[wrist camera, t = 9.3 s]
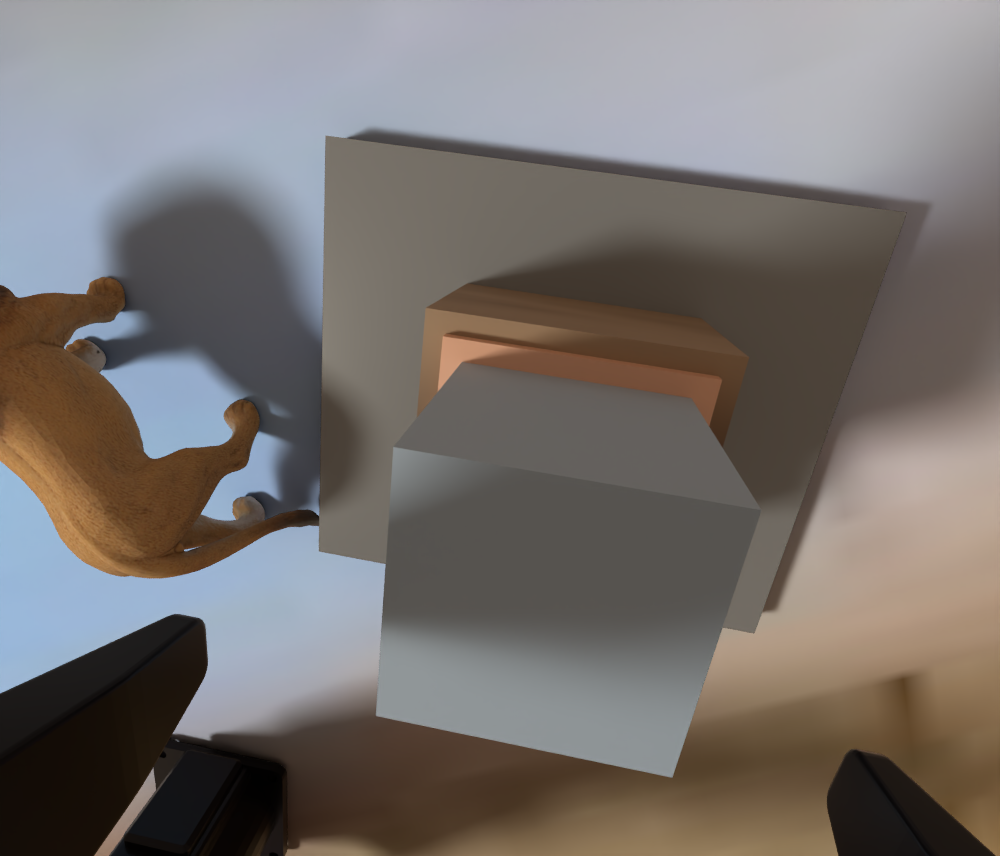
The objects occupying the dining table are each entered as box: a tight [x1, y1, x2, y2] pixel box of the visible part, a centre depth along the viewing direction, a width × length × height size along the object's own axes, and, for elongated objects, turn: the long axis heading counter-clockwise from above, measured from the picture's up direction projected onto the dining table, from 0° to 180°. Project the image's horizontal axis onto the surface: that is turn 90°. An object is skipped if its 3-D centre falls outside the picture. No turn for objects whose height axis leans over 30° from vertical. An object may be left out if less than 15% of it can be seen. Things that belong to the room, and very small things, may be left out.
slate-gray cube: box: [376, 362, 762, 778], centre depth 11 cm, size 5×5×5 cm
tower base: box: [319, 136, 907, 633], centre depth 16 cm, size 14×16×6 cm
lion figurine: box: [0, 277, 319, 578], centre depth 17 cm, size 15×5×9 cm, turn 51°
